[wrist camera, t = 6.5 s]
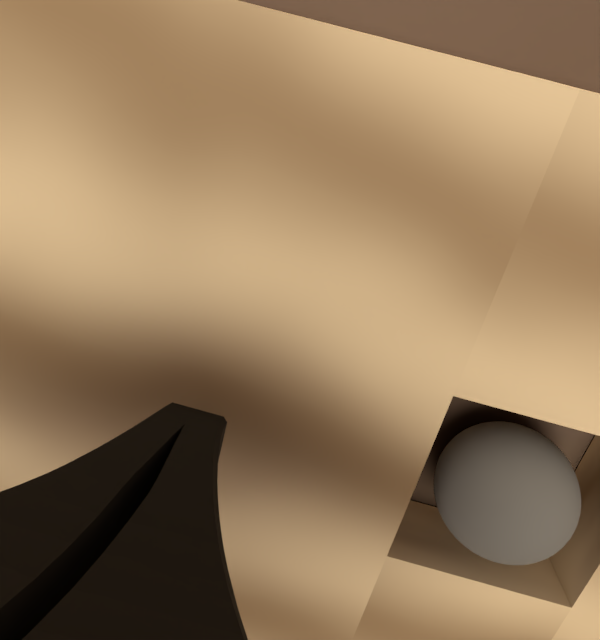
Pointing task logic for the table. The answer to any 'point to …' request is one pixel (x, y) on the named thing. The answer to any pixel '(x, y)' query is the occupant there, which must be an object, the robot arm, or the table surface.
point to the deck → (302, 292)
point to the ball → (507, 493)
